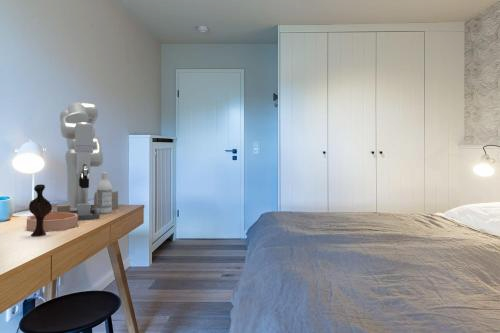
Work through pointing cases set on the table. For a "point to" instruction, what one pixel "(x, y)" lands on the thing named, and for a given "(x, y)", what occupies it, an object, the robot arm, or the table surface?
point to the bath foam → (104, 195)
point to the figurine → (39, 210)
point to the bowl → (54, 221)
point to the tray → (86, 217)
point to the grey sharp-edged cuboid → (83, 209)
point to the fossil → (114, 200)
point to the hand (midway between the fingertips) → (83, 187)
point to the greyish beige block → (63, 208)
